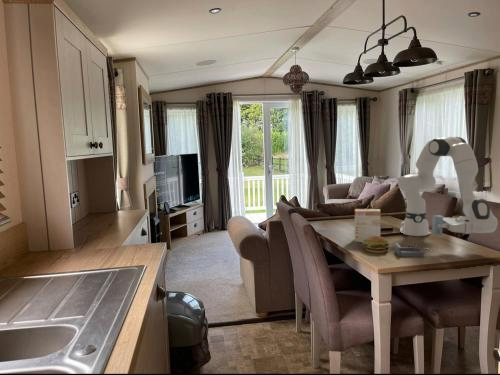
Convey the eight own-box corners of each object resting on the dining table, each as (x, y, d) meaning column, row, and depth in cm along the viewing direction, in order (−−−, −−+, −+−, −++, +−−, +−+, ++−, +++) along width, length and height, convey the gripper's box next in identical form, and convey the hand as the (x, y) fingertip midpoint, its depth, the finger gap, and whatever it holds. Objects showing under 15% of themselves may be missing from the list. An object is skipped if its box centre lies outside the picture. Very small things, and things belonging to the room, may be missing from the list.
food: (358, 247, 224) (358, 234, 223) (382, 246, 225) (382, 233, 224) (368, 254, 210) (368, 240, 209) (393, 253, 211) (393, 239, 211)
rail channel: (395, 251, 214) (395, 242, 214) (419, 252, 212) (419, 243, 212) (398, 256, 205) (398, 247, 204) (423, 257, 203) (424, 247, 202)
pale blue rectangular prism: (432, 233, 213) (432, 215, 212) (439, 233, 213) (440, 215, 211) (434, 234, 209) (434, 216, 208) (442, 235, 209) (442, 216, 207)
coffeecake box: (379, 240, 239) (380, 208, 237) (380, 243, 233) (380, 211, 230) (354, 239, 243) (354, 208, 241) (354, 242, 237) (354, 210, 234)
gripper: (456, 214, 218) (430, 214, 220) (470, 222, 198) (441, 222, 200) (456, 225, 219) (429, 225, 221) (470, 234, 199) (441, 234, 201)
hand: (435, 224), depth 210 cm, fingers closed on pale blue rectangular prism, 4 cm apart
